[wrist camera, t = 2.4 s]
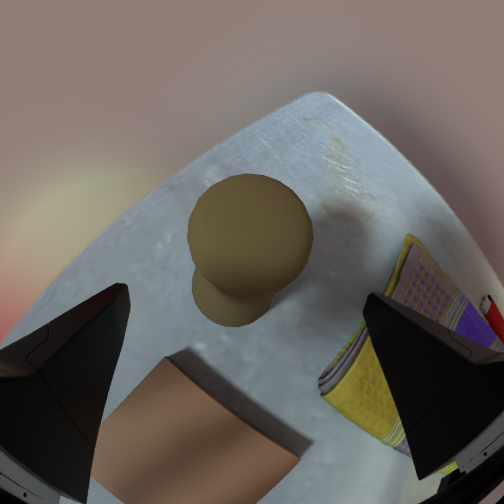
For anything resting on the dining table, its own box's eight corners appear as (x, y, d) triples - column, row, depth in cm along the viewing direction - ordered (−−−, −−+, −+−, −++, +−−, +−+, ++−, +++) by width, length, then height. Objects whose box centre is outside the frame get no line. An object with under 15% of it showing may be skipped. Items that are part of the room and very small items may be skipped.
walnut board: (295, 452, 16) (301, 459, 15) (197, 537, 12) (197, 546, 10) (168, 356, 17) (164, 356, 16) (78, 450, 13) (70, 456, 12)
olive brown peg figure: (217, 234, 21) (226, 132, 11) (286, 271, 21) (351, 195, 11) (176, 301, 19) (139, 243, 9) (250, 341, 19) (298, 330, 9)
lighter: (505, 346, 21) (483, 306, 22) (498, 347, 22) (476, 308, 23) (510, 329, 22) (488, 289, 23) (503, 331, 23) (482, 291, 24)
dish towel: (442, 481, 15) (457, 486, 13) (298, 382, 19) (311, 387, 16) (501, 360, 21) (516, 357, 19) (400, 234, 25) (416, 222, 22)
